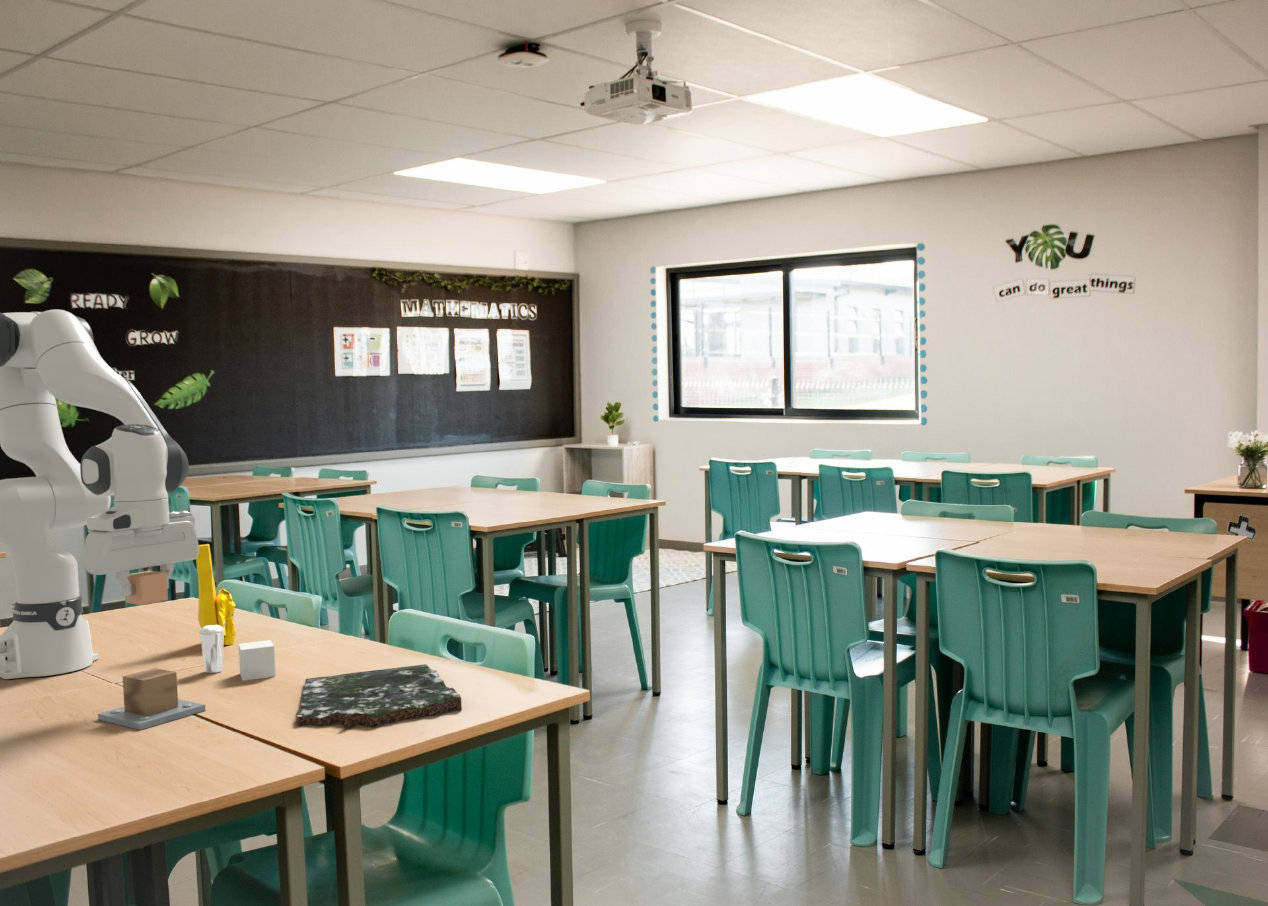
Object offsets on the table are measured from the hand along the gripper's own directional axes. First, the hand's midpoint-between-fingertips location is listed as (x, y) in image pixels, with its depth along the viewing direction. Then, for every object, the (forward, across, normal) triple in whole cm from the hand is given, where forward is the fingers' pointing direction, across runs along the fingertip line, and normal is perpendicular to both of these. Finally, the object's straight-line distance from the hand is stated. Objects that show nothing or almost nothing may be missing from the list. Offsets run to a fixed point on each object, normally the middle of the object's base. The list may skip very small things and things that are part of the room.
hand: (146, 592), depth 191 cm
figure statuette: (+19, -33, -26) cm, 47 cm away
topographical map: (+20, -17, +38) cm, 46 cm away
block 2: (+18, +7, +10) cm, 22 cm away
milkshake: (+19, -17, -5) cm, 26 cm away
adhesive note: (+19, -19, +5) cm, 28 cm away
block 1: (+2, 0, 0) cm, 2 cm away
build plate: (+19, +7, +11) cm, 23 cm away
